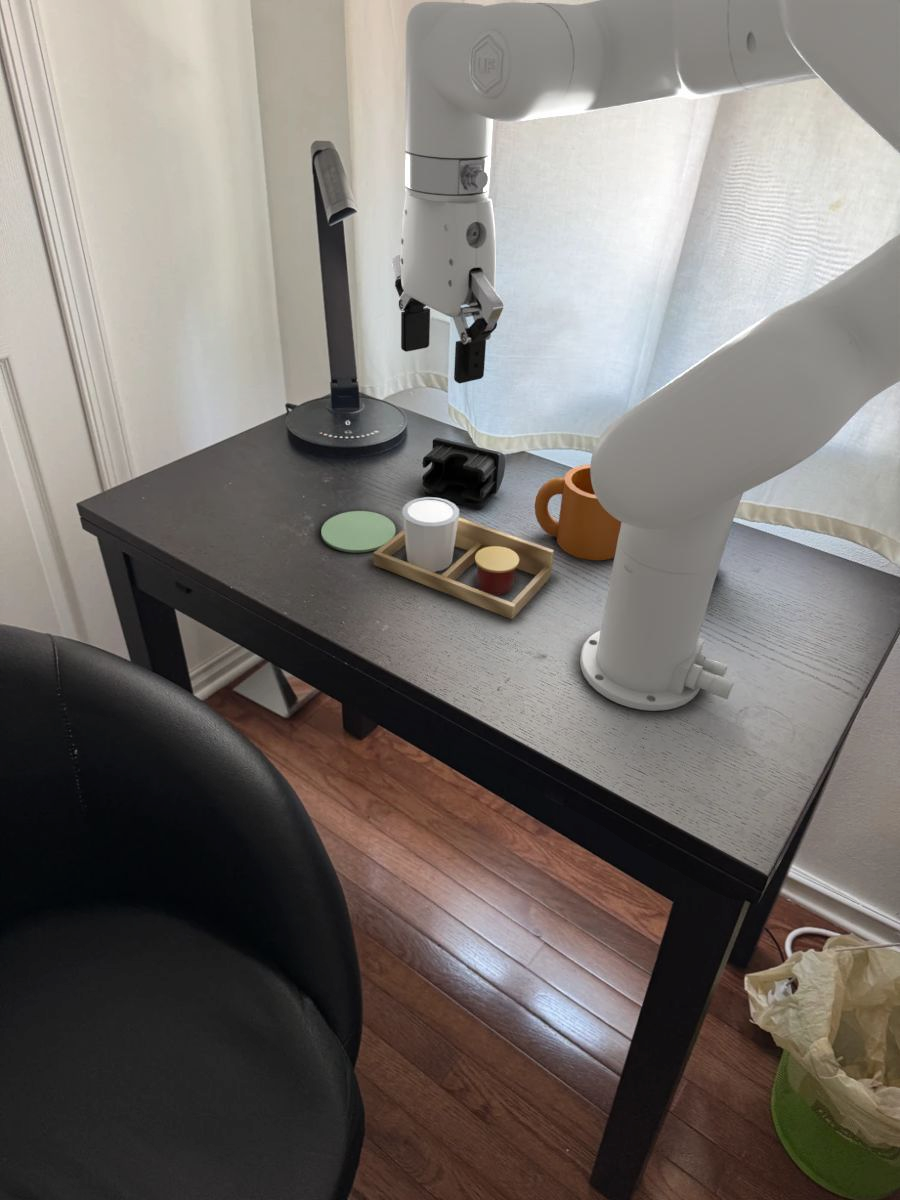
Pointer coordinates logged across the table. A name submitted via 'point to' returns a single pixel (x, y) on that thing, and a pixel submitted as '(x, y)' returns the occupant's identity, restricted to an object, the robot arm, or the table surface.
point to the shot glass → (430, 532)
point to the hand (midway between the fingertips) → (441, 363)
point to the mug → (578, 517)
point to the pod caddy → (472, 540)
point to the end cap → (463, 473)
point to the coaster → (358, 531)
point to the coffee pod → (496, 569)
